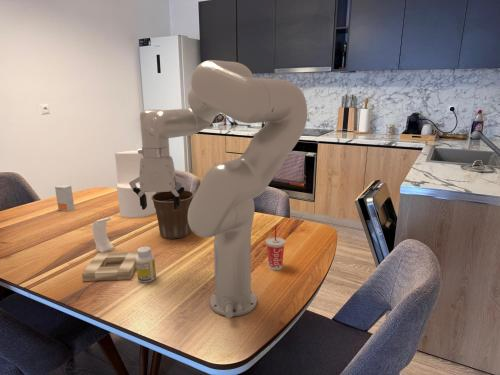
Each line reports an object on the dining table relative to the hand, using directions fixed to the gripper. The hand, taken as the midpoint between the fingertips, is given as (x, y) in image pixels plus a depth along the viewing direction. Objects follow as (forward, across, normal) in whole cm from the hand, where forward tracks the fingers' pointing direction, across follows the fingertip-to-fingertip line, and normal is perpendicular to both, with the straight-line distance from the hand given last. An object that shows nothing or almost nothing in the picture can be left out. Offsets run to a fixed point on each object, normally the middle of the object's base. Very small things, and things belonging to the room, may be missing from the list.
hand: (160, 208), depth 107 cm
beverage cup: (+21, +36, 0) cm, 41 cm away
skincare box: (+21, -60, +62) cm, 89 cm away
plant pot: (+21, -2, +29) cm, 36 cm away
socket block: (+21, -17, 0) cm, 26 cm away
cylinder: (+21, -24, +57) cm, 66 cm away
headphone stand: (+21, -25, +16) cm, 37 cm away
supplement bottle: (+21, -4, -6) cm, 22 cm away
